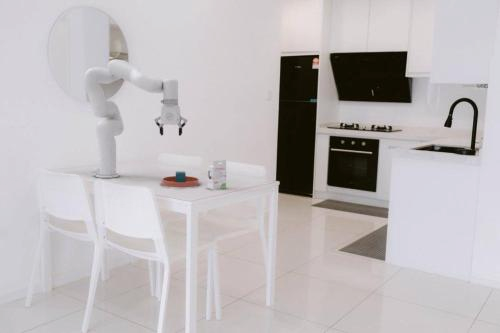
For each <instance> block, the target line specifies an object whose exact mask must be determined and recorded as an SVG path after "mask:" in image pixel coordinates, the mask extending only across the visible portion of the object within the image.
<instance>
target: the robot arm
mask: <svg viewBox="0 0 500 333" xmlns="http://www.w3.org/2000/svg"><path fill="white" fill-rule="evenodd" d="M119 80H124V81H126V82H129V83H131V84H132V85H133V86H135V87H137V88H139V89H141V90H143V91H145V92H147V93H152V94H154V93H155V94H163V98H162V100H160V103H161V104H163V105H161V109H160V116H158V117H157V118H154V122H155V124H156V126H157V127H158V128H159V134H160V136H163V135H164V125H171V126H172V125H173V126H174V125H175V126H176V125H177V126H178V136H179V137H181V136H182V135H183V128H184V127H185V126H186V124H187V122H188V119H187V118H184V117H183V116H181V109H180V105H179V82H178V79H175V78H157V77H151V76H149V75H146V74H144V73H143V72H141V71H140V69H139V68H138V67H136V66H134V65H131V64H130V63H129V61H127V60H123V59H118V58H117V59H115V58H114V59H111V60H110V61H109V62H108V63H107V67H101V66H93V67H90V68H89V69H87V70H86V71H85V73H84V75H83V85H84V88H85V91H86V94H87V96H88V100H89V103H90V106H91V109H92V112H93V115H94V116H95V117H96V118H99V119H101V118H102V120H100V121H99V122H98V123H97V124H96V126H95V132H96V136H97V155H98V156H97V160H98V161H97V162H98V165H97V166H98V167H97V168H90V169H89V170H90V171H89V172H90V173H92V174H95V177H96V178H99V179H100V178H101V179H113V178H118V177H120V173H118V172H117V143H116V139H115V137H116V136H120V135H121V134H123V132H124V129H125V125H124V121H123V119H122V116H121V112H120V109H119V106H118V105H117V104H116V102H114V101H113V100H108V99H107V98H106V95H105V92H104V90H103V88H102V87H101V85H100V84H105V85H106V84H107V85H109V84H111V83H114V82H116V81H119ZM103 118H104V119H103ZM159 121H160V122H159ZM182 121H183V123H181V122H182Z"/></svg>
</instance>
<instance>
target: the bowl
mask: <svg viewBox="0 0 500 333" xmlns="http://www.w3.org/2000/svg"><path fill="white" fill-rule="evenodd" d="M161 185H162V186H165V187H171V188H192V187H197V186H199V185H200V178H198V177H195V176H188V175H186V179H185V182H176V175H172V176H166V177H162V178H161Z"/></svg>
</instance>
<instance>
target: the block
mask: <svg viewBox="0 0 500 333" xmlns="http://www.w3.org/2000/svg"><path fill="white" fill-rule="evenodd" d="M175 176H176V182H185V179H186V176H187V173H186V171H175Z"/></svg>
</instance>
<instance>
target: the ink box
mask: <svg viewBox="0 0 500 333" xmlns="http://www.w3.org/2000/svg"><path fill="white" fill-rule="evenodd" d="M212 162H213V165H207V184H206V185H207V189H210V190H218V189H221V190H225V189H227V160H226V159H221V160H220V159H219V160H213V161H212Z"/></svg>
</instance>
